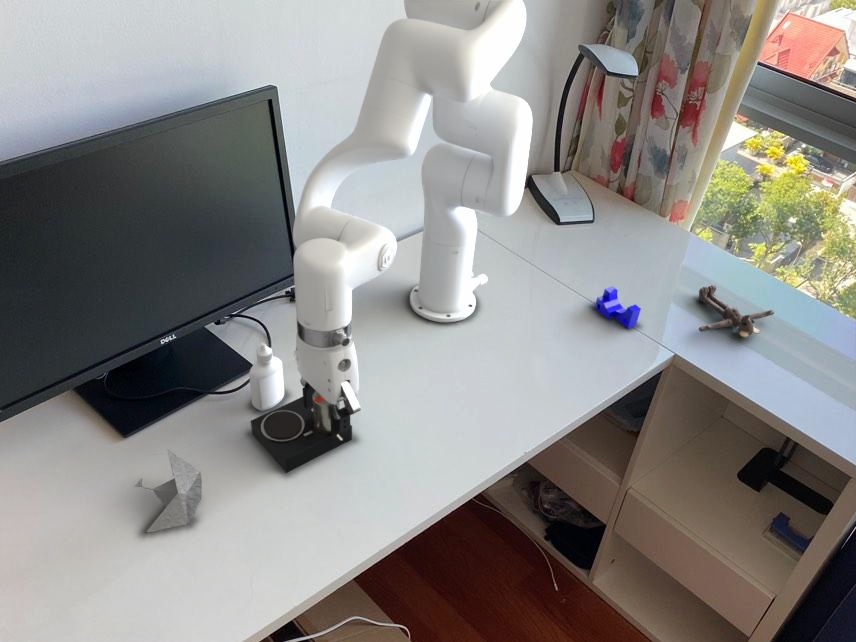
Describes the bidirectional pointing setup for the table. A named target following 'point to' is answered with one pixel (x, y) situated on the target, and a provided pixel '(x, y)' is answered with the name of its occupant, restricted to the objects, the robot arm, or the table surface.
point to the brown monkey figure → (730, 314)
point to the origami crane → (177, 495)
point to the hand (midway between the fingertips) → (326, 416)
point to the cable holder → (616, 308)
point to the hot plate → (299, 439)
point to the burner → (282, 426)
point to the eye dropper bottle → (266, 379)
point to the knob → (322, 413)
